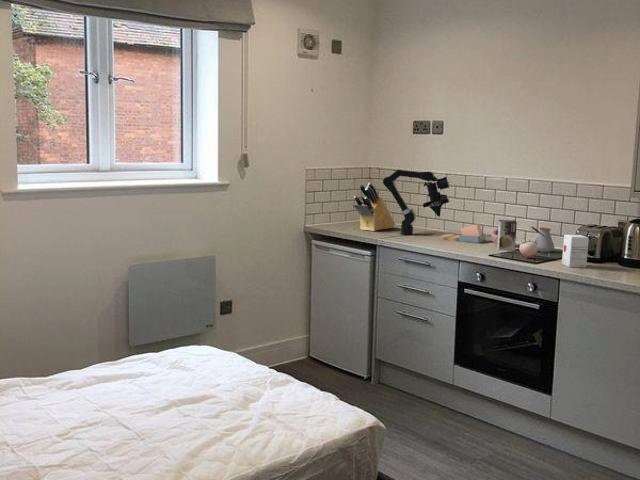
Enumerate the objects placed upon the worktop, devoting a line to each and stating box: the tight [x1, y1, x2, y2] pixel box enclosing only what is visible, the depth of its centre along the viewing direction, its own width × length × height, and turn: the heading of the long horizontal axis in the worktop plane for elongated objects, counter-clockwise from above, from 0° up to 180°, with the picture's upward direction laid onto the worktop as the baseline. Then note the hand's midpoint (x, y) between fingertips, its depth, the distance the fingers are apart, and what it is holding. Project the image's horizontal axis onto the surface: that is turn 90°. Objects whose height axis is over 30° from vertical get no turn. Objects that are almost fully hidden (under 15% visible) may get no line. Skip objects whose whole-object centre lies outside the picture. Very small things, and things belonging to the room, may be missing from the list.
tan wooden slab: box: [438, 233, 460, 242], centre depth 430 cm, size 12×14×2 cm
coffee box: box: [496, 219, 518, 251], centre depth 397 cm, size 9×6×16 cm
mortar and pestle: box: [491, 227, 498, 245], centre depth 410 cm, size 12×12×11 cm
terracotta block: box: [460, 223, 484, 236], centre depth 424 cm, size 7×7×10 cm
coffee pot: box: [528, 226, 555, 253], centre depth 389 cm, size 21×12×15 cm, turn 135°
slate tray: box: [458, 233, 486, 244], centre depth 425 cm, size 12×14×4 cm
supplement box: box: [561, 234, 590, 268], centre depth 351 cm, size 9×9×15 cm
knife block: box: [353, 182, 396, 232], centre depth 459 cm, size 11×35×31 cm, turn 143°
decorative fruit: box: [519, 239, 538, 259], centre depth 369 cm, size 9×8×10 cm
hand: (439, 216), depth 437 cm, fingers closed
